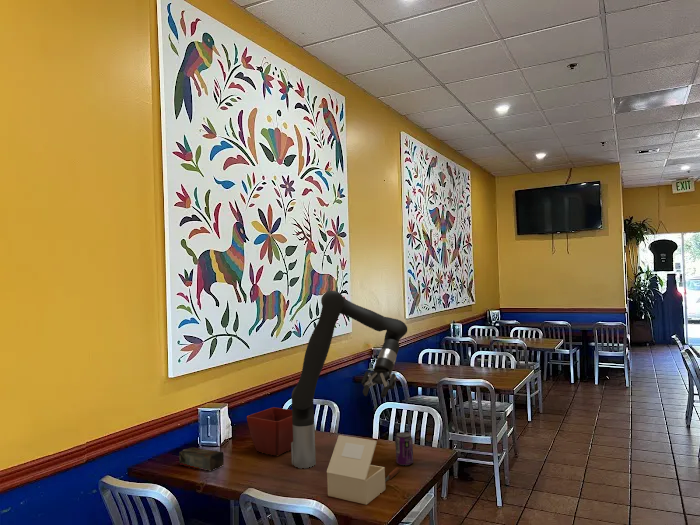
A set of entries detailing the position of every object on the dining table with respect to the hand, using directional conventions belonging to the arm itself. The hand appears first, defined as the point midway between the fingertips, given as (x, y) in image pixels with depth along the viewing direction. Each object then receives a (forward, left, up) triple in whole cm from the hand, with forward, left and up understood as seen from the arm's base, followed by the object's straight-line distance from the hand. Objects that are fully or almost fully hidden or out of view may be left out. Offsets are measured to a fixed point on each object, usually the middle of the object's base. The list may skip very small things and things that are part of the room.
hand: (373, 395), depth 200 cm
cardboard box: (+2, -18, -31) cm, 36 cm away
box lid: (+2, -21, -17) cm, 27 cm away
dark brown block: (-72, -25, -31) cm, 82 cm away
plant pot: (-55, +5, -31) cm, 63 cm away
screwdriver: (+7, -1, -31) cm, 32 cm away
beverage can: (+5, +16, -31) cm, 35 cm away
